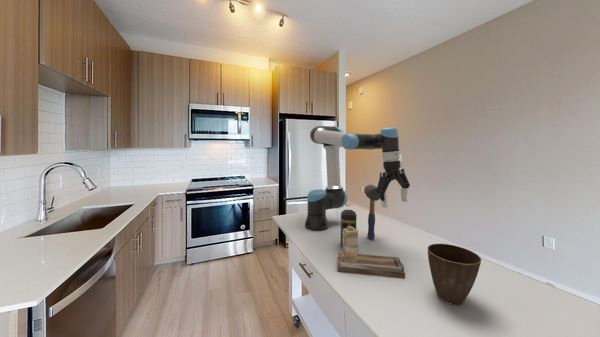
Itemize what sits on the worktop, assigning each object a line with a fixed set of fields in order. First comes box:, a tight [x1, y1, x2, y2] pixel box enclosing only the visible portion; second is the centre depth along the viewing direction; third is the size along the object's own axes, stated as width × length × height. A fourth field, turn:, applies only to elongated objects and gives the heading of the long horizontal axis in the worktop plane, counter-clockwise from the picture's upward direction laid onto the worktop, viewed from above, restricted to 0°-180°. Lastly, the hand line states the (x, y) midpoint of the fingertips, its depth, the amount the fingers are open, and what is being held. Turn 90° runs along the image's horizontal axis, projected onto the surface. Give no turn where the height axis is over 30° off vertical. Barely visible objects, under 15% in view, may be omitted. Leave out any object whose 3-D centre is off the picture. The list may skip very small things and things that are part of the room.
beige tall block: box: [341, 226, 359, 263], centre depth 97 cm, size 4×5×15 cm
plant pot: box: [427, 243, 482, 306], centre depth 77 cm, size 15×15×16 cm
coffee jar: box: [340, 209, 357, 248], centre depth 117 cm, size 10×8×19 cm
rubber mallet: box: [363, 184, 380, 240], centre depth 126 cm, size 12×8×30 cm, turn 175°
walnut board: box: [337, 252, 406, 279], centre depth 97 cm, size 13×26×4 cm, turn 80°
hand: (394, 204), depth 110 cm, fingers open, 13 cm apart
